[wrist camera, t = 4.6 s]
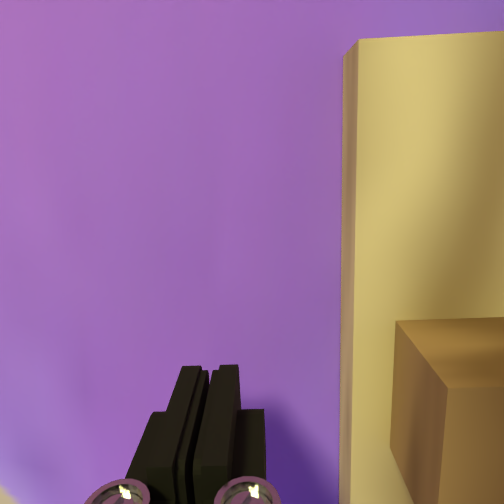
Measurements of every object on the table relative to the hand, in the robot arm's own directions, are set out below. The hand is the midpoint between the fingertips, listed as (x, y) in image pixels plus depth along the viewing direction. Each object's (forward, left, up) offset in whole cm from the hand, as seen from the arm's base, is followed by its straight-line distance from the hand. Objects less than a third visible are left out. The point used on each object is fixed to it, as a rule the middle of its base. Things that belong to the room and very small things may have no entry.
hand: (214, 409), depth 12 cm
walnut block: (-8, 0, -1) cm, 8 cm away
